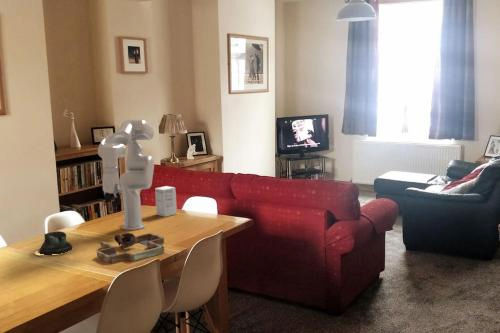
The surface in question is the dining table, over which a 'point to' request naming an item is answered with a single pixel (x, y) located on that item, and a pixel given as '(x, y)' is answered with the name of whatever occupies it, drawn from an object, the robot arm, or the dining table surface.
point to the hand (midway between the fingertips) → (112, 203)
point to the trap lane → (146, 239)
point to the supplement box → (166, 201)
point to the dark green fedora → (55, 244)
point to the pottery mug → (125, 240)
